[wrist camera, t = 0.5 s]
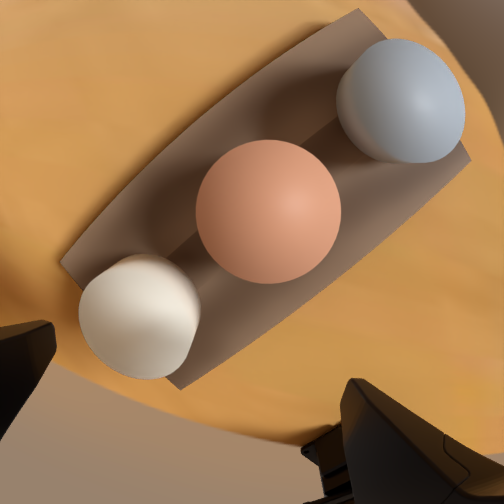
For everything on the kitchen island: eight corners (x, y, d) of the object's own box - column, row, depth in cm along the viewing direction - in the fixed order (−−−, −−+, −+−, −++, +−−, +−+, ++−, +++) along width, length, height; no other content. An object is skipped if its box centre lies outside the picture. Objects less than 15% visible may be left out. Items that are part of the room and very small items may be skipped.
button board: (451, 160, 19) (471, 160, 16) (186, 370, 23) (180, 390, 20) (348, 23, 17) (358, 8, 14) (77, 252, 21) (59, 262, 18)
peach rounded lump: (335, 209, 19) (367, 224, 13) (258, 271, 20) (259, 310, 14) (271, 130, 18) (278, 110, 12) (193, 195, 19) (166, 205, 13)
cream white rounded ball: (227, 295, 20) (217, 340, 14) (163, 345, 21) (137, 395, 15) (163, 222, 19) (127, 243, 13) (104, 281, 20) (60, 315, 14)
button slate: (429, 130, 17) (482, 121, 12) (366, 183, 18) (408, 189, 13) (373, 56, 16) (411, 21, 11) (304, 105, 17) (324, 77, 12)
